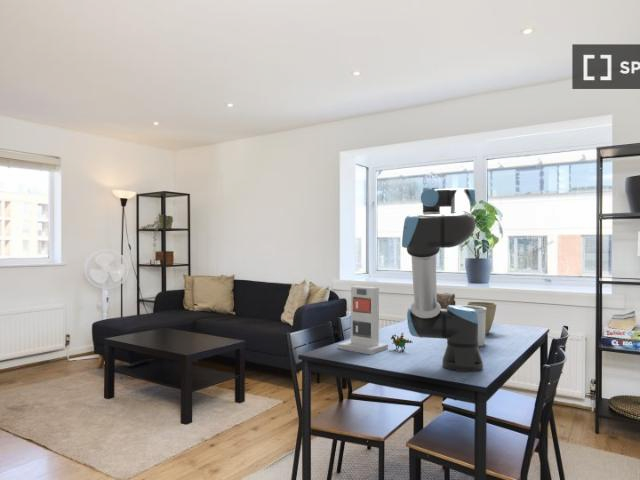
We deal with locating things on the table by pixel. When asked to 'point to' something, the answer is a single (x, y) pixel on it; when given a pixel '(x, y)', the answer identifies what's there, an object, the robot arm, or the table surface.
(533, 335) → the table surface
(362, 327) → the black rocker
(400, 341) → the figurine
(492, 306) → the plant pot
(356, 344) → the rocker switch stand
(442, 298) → the owl
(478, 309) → the utensil holder
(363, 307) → the red rocker
